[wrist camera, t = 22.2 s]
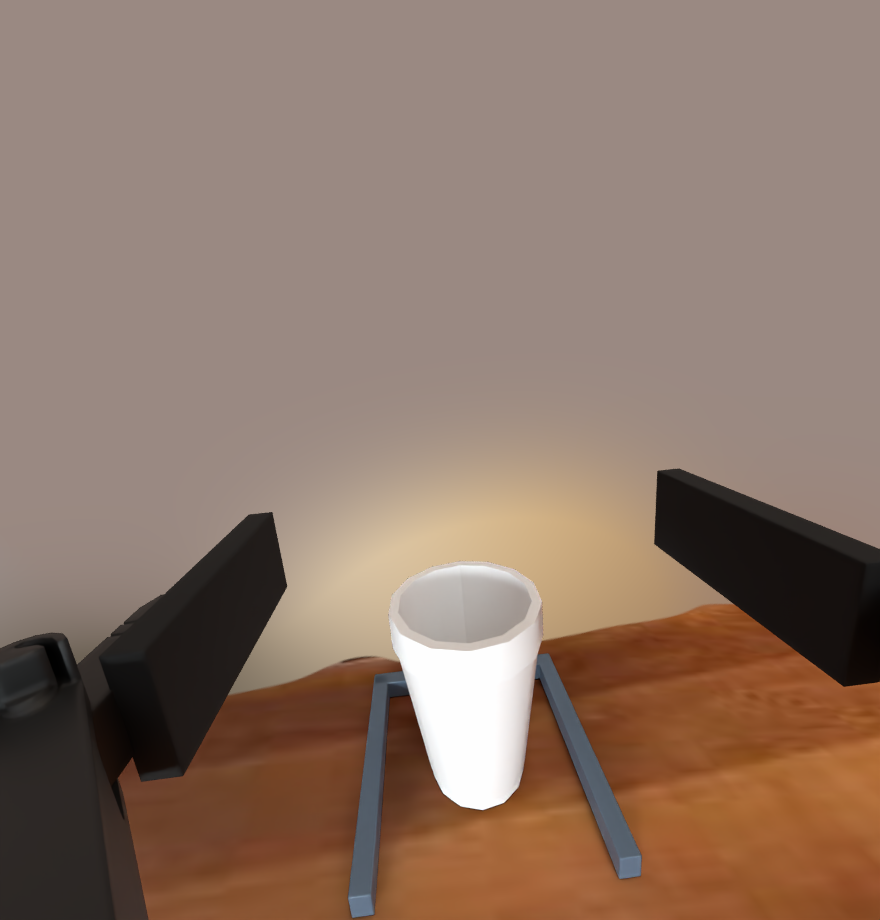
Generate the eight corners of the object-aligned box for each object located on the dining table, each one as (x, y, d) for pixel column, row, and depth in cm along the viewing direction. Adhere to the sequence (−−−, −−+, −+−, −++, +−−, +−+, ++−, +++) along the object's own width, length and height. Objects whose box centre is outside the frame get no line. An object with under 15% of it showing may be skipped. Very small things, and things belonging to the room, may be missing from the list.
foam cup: (425, 860, 23) (399, 669, 20) (401, 724, 32) (380, 577, 29) (574, 807, 25) (572, 625, 22) (513, 693, 34) (505, 551, 31)
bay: (641, 876, 22) (642, 856, 21) (351, 918, 21) (347, 898, 21) (548, 667, 36) (548, 652, 36) (377, 688, 36) (374, 674, 35)
